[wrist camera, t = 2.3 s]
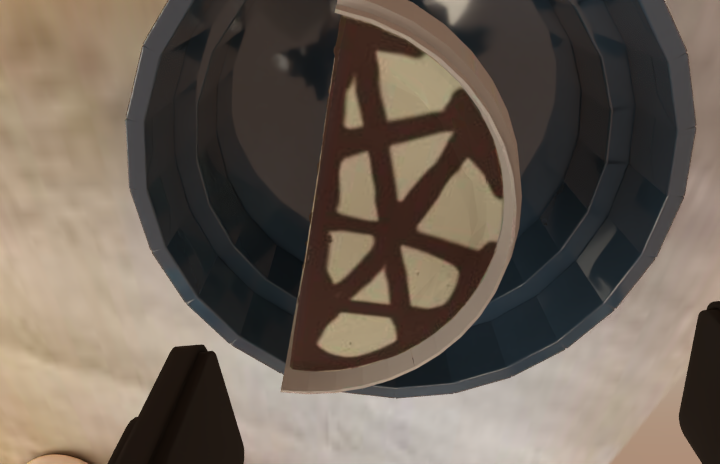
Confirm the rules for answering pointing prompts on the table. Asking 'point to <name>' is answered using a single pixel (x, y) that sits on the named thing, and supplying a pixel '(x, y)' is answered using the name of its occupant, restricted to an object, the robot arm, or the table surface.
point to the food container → (402, 202)
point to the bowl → (304, 143)
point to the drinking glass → (56, 460)
